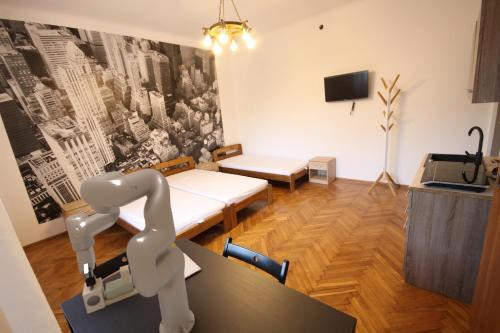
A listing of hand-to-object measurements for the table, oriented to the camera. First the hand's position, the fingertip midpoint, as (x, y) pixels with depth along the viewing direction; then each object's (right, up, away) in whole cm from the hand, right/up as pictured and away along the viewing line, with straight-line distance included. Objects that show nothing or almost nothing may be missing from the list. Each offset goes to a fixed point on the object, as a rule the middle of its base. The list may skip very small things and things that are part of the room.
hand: (92, 277), depth 98 cm
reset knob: (+2, -1, -2) cm, 3 cm away
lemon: (+25, -2, +29) cm, 38 cm away
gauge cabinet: (+3, -10, -1) cm, 11 cm away
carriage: (+11, -7, +3) cm, 13 cm away
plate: (+31, -5, +16) cm, 35 cm away
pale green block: (+13, -8, +4) cm, 16 cm away
